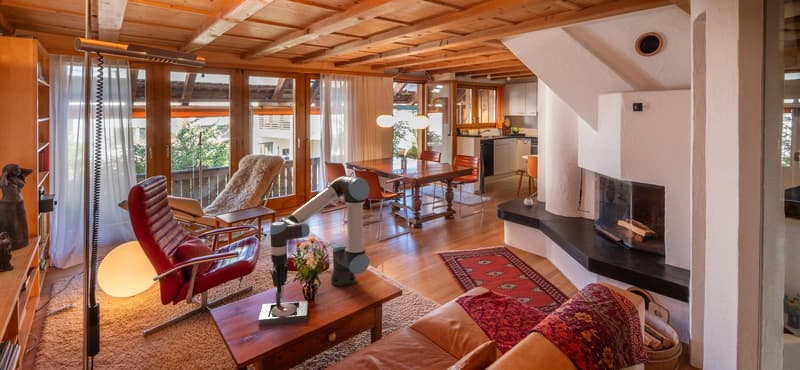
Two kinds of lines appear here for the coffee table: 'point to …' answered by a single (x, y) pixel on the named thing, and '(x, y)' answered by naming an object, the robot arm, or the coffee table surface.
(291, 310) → the dial
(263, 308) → the dial housing
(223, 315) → the coffee table surface
